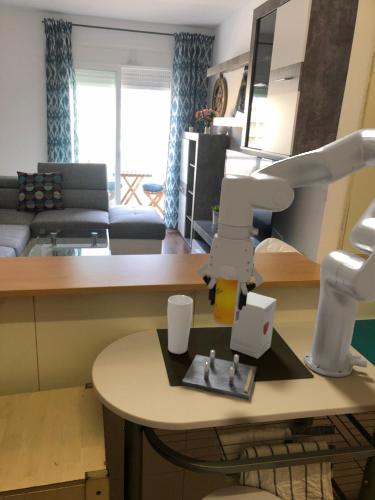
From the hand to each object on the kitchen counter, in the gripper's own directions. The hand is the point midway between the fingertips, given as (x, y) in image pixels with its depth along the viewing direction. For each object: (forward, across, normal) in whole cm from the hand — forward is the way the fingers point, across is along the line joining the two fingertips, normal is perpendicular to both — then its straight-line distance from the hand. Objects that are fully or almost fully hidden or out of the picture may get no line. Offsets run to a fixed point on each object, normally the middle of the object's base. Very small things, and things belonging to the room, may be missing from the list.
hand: (227, 304), depth 98 cm
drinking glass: (+20, +14, -9) cm, 26 cm away
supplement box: (+20, -5, -18) cm, 27 cm away
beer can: (+5, 0, 0) cm, 5 cm away
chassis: (+20, 0, 0) cm, 20 cm away
